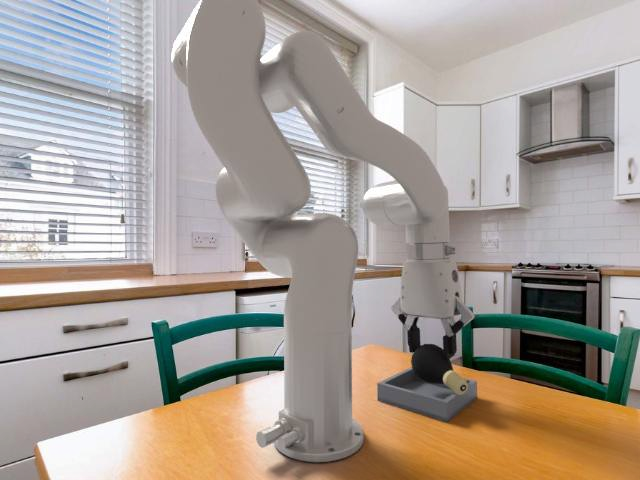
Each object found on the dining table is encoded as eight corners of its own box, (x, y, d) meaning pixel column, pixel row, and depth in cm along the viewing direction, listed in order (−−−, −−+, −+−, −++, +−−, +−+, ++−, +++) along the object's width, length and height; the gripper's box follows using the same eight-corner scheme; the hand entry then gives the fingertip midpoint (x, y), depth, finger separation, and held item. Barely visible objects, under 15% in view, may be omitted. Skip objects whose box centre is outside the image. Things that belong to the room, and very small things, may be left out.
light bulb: (473, 360, 60) (429, 331, 71) (439, 383, 58) (399, 350, 70) (485, 393, 62) (440, 360, 73) (453, 416, 60) (412, 379, 71)
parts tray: (446, 422, 58) (446, 402, 58) (377, 400, 67) (377, 383, 67) (477, 397, 68) (477, 380, 68) (412, 381, 76) (412, 366, 76)
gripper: (485, 252, 65) (488, 357, 65) (396, 252, 77) (399, 341, 77) (468, 254, 60) (472, 369, 60) (375, 254, 71) (379, 350, 71)
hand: (431, 352), depth 68 cm, fingers closed on light bulb, 5 cm apart
